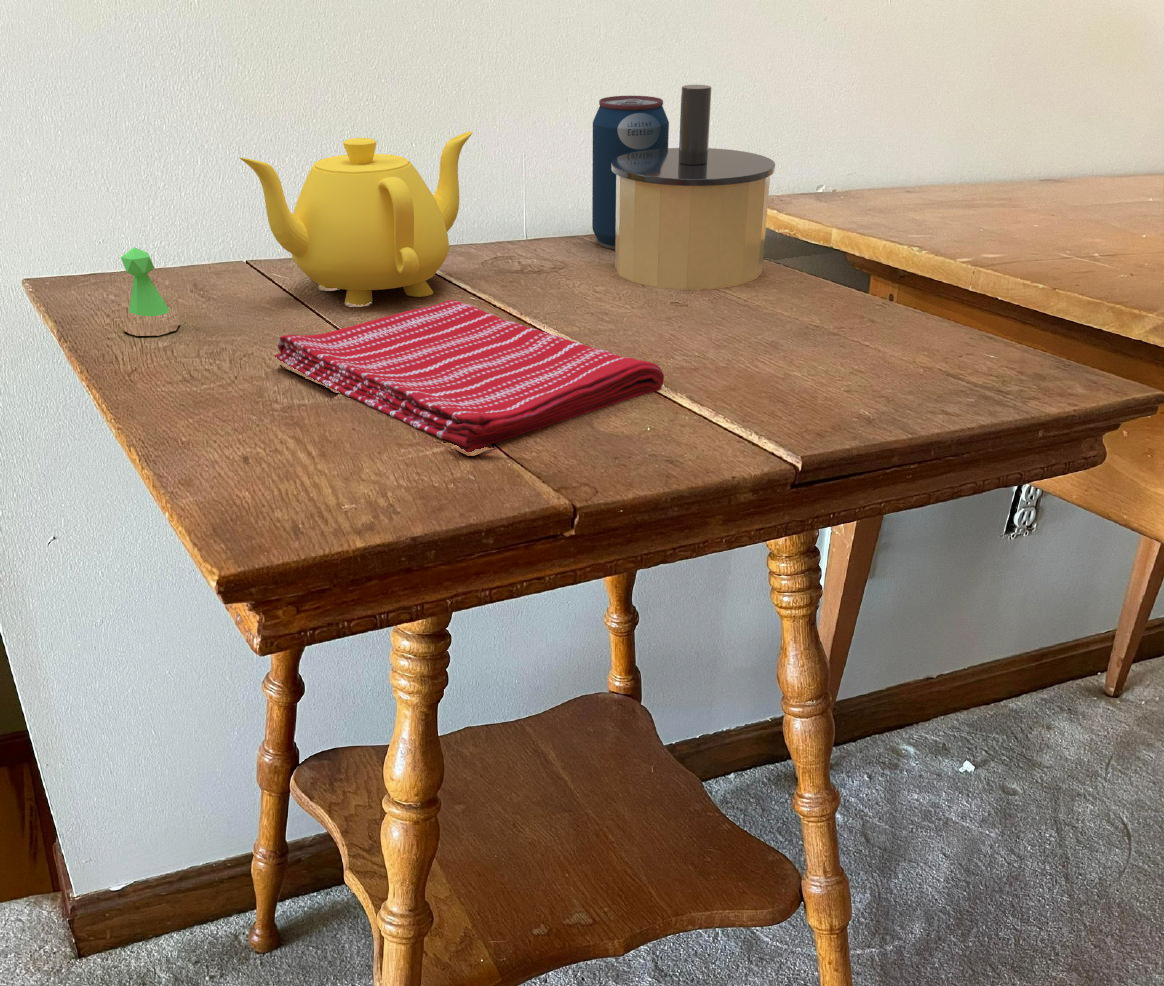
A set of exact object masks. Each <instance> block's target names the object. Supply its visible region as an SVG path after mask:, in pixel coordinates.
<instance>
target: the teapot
mask: <svg viewBox="0 0 1164 986" xmlns="http://www.w3.org/2000/svg"><path fill="white" fill-rule="evenodd" d="M472 134H473V131H472V130H471V131H466V132H463V133H461V134H459V135H456V136H454V137H452V138H451V139H449V140H448V141H447V142H446V144H445V145H444V147H443V149H442V151H441V155H440V161H439V175H438V183H437V186H436V189H435V191H434V192H433V193H432V191H431V190H430V188H429V187H428V185H427V184H426V182H425V180H424V179H423V178H422V176H421V174H420V172H419V171H418V170H417V168H416V167H415V166H414V164H413V163H412V161H410V160H409V159H407V158H406V157H404V156H400V155H395V154H388V153H376V148H377V140H375V139H373V138H371V137H353V138H348V139H344V141H342V145H343V147H344V150H345V152H346V154H342V155H334V156H329V157H325V158H322V159H318V160H317V161H315V162H314V164H313V165H312V166H311V168H310V170H309V173H307V176H306V178H305V181H304V183H303V185H302V187H301V190H300V193H299V195H298V198H297V201H296V204H295V207H294V210H293V213H292V212H291V210H290V208H289V206H288V203H287V200H286V196H285V194H284V189H283V186H282V182H281V179H280V177H279V174H278V173H277V171H276V170H275V168H274V167H273V166H272V165H270V163H268V162H266V161H261V160H256V159H251V158H246V157H240V156H239V157H238V159H239V160H241V161H242V162H243V163H245V164H246V165H248V167H249V168H251V169H252V170H253V172H254V173H255V174H256V176H257V177H258V179H259V183H260V184H261V187H262V192H263V196H264V197H263V198H264V204H265V210H266V217H267V222H268V225H269V228H270V231H271V233H272V235H273V237H274V238H275V240H276V242H277V243H278V244H279V245H280V246H281V248H283V249H284V250H285V251H287V252H288V253H290V254H291V258H292V259H293V261H294V263H295V264H296V265H297V267H299V269H300V270H301V271H302V272H303V273H304V274H305V275H306V276H307V277H308V278H309V279H310V280H311V281H312V282H314V283H316V284H317V285H318V287H319V286H322V287H325V288H337V289H342V290H346V294H345V299H344V302H345V301H346V302H349V303H352V304H356V305H358V304H359V305H361V304H363V305H365V304H367V303H369V302H372V301H373V291H378V290H380V291H381V290H389V289H397V288H403V290H404V292H405V294H406V295H407V296H409V295H410V296H409V297H415V298H416V297H418V298H421V297H422V298H423V297H426V296H427V297H428V296H432V295H433V294H434V291H433V290H432V288H431V286H430V285H429V284H428V282H427V281H428V280H429V279H431V278H433V277H434V276H435V275H436V274H437V272H439V270H440V268H441V267H442V265H443V264H444V262H445V261H446V259H447V257H448V256H449V252H450V242H449V235H448V232H449V231H450V230H451V228H452V227H453V226H454V223H455V222H456V219H457V217H458V213H459V208H460V184H459V159H460V155H461V153H462V149H463V147H464V145H465V144H466V143H467V142H468V139H469V138H470V137H471V136H472Z"/></svg>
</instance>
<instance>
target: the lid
mask: <svg viewBox="0 0 1164 986" xmlns="http://www.w3.org/2000/svg"><path fill="white" fill-rule="evenodd" d="M680 95H681V96H680V114H679V115H680V117H679V120H680V121H679V142H678V145H679V146H678V147H668V148H665V149H653V150H644V151H638V152H633V153H628V154H624V155H621V156H619V157H617V158H615V159H614V160H613V161H612V163H611V169H612V172H613V173H615V174H616V175H618V176H621V177H623V178H627V179H630V180H634V181H640V182H645V183H653V184H662V185H677V186H717V185H731V184H740V183H747V182H752V181H757V180H760V179H764V178H766V177H769V176H770V177H771V176H772V175H773V174H775V172H776V162H775V161H774V160H773V159H771V158H769V157H767V156H766V155H765V156H764V155H762V154H758V153H754V152H749V151H743V150H738V149H737V150H735V149H727V148H715V147H713V148H712V147H709V145H710V144H709V142H710V141H709V140H710V126H711V124H710V123H711V105H712V86H711V85H706V84H686V85H682V86H681V94H680Z"/></svg>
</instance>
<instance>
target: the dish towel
mask: <svg viewBox="0 0 1164 986" xmlns="http://www.w3.org/2000/svg"><path fill="white" fill-rule="evenodd" d="M277 348H278V351H279V352H280V353H276V354H274V358H275V357H277V358H278V359H279V360H280V361H283V362H284V363H286V364H287V365H288V366H291V367H293V368H294V369H297V370H298V371H300V372H302V373H303V374H305V375H306V376H307V377H311V378H313V379H314V380H317V381H318V382H321V383H322V384H324V385H325V386H328V387H330V388H332V389H334V390H337V391H339V392H340V394H341V393H343V394H342V395H344V394H345V395H344V396H345V397H347V396H349V397H351V398H350V399H353V400H356V401H358V402H360V403H362V404H364V405H366V406H368V407H369V406H370V407H369V408H371V407H372V409H374V410H377V411H378V412H381V413H383V414H386V415H387V414H388V415H387V416H389V415H390V416H389V417H391V418H393V417H394V418H393V419H397V420H399V421H401V422H403V423H404V422H405V423H404V424H406V425H408V426H410V427H412V428H414V429H416V430H420V431H423V432H425V433H428V434H430V435H433V436H435V437H437V438H438V439H441V440H445V441H446V442H450V443H452V444H454V445H457V446H459V447H460V448H461V449H464V450H465V451H466V452H472V451H474V450H475V449H481V448H484V447H488V446H489V445H491V444H494V443H497V442H501V441H503V440H504V441H505V440H508V439H510V438H514V437H517V436H519V435H522V434H525V433H528V432H531V431H532V432H533V431H535V430H538V429H541V428H544V427H547V426H551V425H554V424H557V423H560V422H562V421H567V420H569V419H572V418H575V417H578V416H582V415H584V414H585V415H586V414H589V413H591V412H594V411H598V410H601V409H603V408H606V407H609V406H612V405H615V404H619V403H622V402H624V401H628V400H631V399H635V398H637V397H641V396H644V395H647V394H650V393H655V392H659V391H660V390H661V388H662V386H663V384H664V380H665V374H664V372H663V370H662V369H661V367H660V366H659V365H657V364H656V363H654V362H652V361H646V360H641V359H637V358H633V357H628V356H622V355H618V354H616V353H612V352H610V351H607V350H605V349H601V348H595V347H592V346H588V345H587V344H584V343H582V342H576V341H573V340H570V339H568V338H564V337H563V336H560V335H556V334H552V333H549V332H545V331H542V330H539V329H537V328H531V327H528V326H526V325H522V324H521V323H518V322H515V321H511V320H507V319H505V318H502V317H499V316H497V315H495V314H492V313H488V312H487V311H484V310H482V309H481V308H478V307H476V306H475V305H472V304H468V303H465V302H463V301H458V300H455V299H449V300H445V301H443V302H440V303H437V304H433V305H430V306H425V307H420V308H414V309H410V310H406V311H402V312H399V313H394V314H390V315H387V316H384V317H380V318H375V319H372V320H369V321H366V322H362V323H359V324H355V325H352V326H347V327H343V328H342V327H341V328H339V329H336V330H333V331H328V332H323V333H320V334H319V333H318V334H308V335H307V334H306V335H305V334H304V335H303V334H302V335H301V334H300V335H299V334H298V335H297V334H285V335H282V336H279V338H278V341H277ZM349 397H348V398H349Z"/></svg>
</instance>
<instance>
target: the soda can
mask: <svg viewBox="0 0 1164 986" xmlns="http://www.w3.org/2000/svg"><path fill="white" fill-rule="evenodd" d="M598 101H599V102H598V104H599V107H598V108H597V111H596V113H595V115H594V118H593V120H592V179H591V181H592V185H591V186H592V187H591V189H592V191H591V193H592V194H591V195H592V196H591V197H592V200H591V202H592V204H591V205H592V209H591V210H592V214H591V215H592V216H591V220H592V221H591V223H592V226H591V229H592V232H593V234H594V236H595V238H596V239H597V241H598V244H599V245H600V246H602V247H603V248H606V249H609V250H610V249H611V250H615V242H616V174H615V173H613V172H612V169H611V163H612V161H613V160H614V159H615V158H617V157H619V156H621V155H624V154H628V153H633V152H638V151H644V150H653V149H665V148H669V137H670V136H669V135H670V133H669V131H670V122H669V119H668V116H667V114H666V110H665V109H664V100H663V99H662V98H659V97H656V96H649V95H615V96H614V95H613V96H607V97H603V98H601V99H599V100H598Z"/></svg>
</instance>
